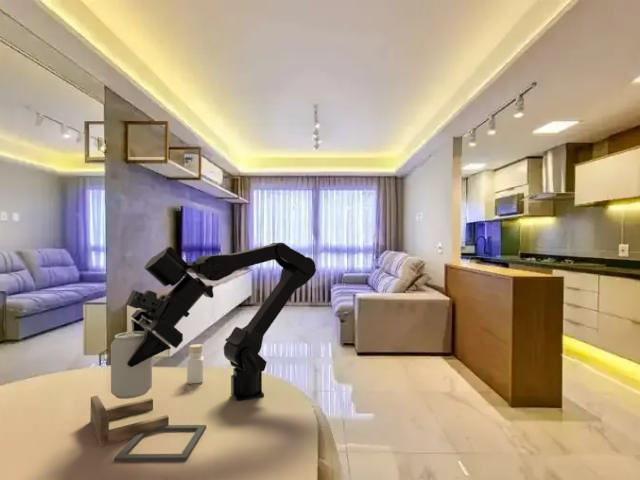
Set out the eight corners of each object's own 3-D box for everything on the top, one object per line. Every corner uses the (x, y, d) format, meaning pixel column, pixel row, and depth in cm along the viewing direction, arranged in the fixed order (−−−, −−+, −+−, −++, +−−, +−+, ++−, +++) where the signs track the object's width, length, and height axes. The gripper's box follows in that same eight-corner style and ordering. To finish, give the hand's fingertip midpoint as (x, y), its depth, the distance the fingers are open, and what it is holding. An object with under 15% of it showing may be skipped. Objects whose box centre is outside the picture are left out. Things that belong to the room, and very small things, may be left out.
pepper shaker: (188, 379, 104) (188, 344, 105) (203, 378, 105) (203, 343, 106) (186, 384, 100) (187, 347, 101) (202, 383, 101) (203, 346, 102)
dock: (151, 407, 86) (151, 384, 86) (168, 427, 76) (168, 401, 76) (90, 421, 79) (90, 396, 79) (100, 446, 69) (100, 417, 69)
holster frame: (145, 428, 76) (145, 425, 76) (206, 427, 76) (206, 424, 76) (113, 461, 64) (113, 457, 64) (186, 461, 64) (186, 457, 64)
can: (121, 403, 73) (120, 339, 73) (104, 394, 78) (104, 334, 78) (159, 392, 79) (158, 332, 79) (141, 383, 83) (141, 327, 84)
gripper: (141, 273, 88) (84, 328, 81) (165, 278, 73) (99, 346, 67) (176, 304, 93) (126, 359, 86) (206, 315, 78) (148, 382, 71)
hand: (124, 361), depth 77 cm, fingers closed on can, 7 cm apart
